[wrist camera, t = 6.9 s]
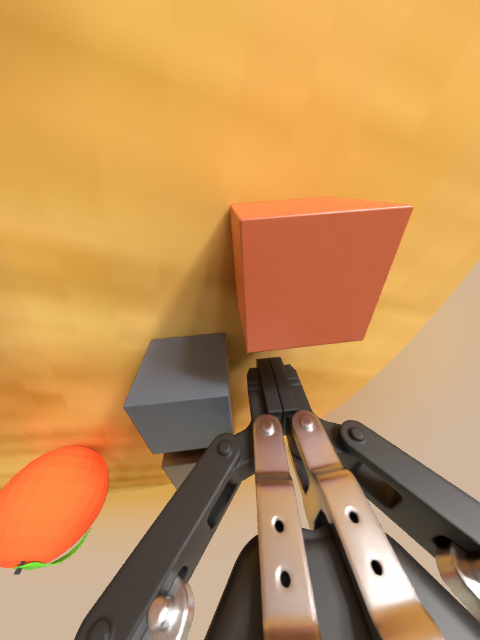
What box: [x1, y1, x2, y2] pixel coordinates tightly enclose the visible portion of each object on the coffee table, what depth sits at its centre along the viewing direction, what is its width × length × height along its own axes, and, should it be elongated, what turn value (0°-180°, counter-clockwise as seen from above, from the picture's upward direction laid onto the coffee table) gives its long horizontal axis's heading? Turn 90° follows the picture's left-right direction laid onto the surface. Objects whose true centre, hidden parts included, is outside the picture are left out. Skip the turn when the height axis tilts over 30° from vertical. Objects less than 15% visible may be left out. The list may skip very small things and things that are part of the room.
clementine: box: [0, 446, 109, 574], centre depth 16 cm, size 8×7×7 cm
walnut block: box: [162, 395, 236, 490], centre depth 15 cm, size 4×4×4 cm
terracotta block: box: [230, 197, 413, 353], centre depth 8 cm, size 4×4×4 cm
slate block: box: [123, 333, 234, 454], centre depth 12 cm, size 4×4×4 cm
